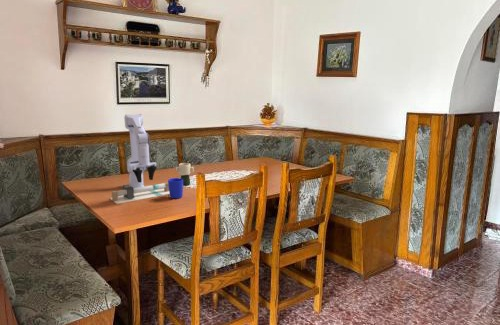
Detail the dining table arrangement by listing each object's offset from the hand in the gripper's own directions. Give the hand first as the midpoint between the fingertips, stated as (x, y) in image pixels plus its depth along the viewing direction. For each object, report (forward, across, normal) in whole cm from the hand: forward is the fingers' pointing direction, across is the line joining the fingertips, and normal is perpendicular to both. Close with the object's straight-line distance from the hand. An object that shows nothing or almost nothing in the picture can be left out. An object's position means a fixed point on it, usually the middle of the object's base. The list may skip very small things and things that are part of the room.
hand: (145, 181), depth 215 cm
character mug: (+9, +35, +6) cm, 36 cm away
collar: (+10, -5, +9) cm, 14 cm away
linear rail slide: (+10, +3, +7) cm, 12 cm away
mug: (+10, +13, -9) cm, 19 cm away
